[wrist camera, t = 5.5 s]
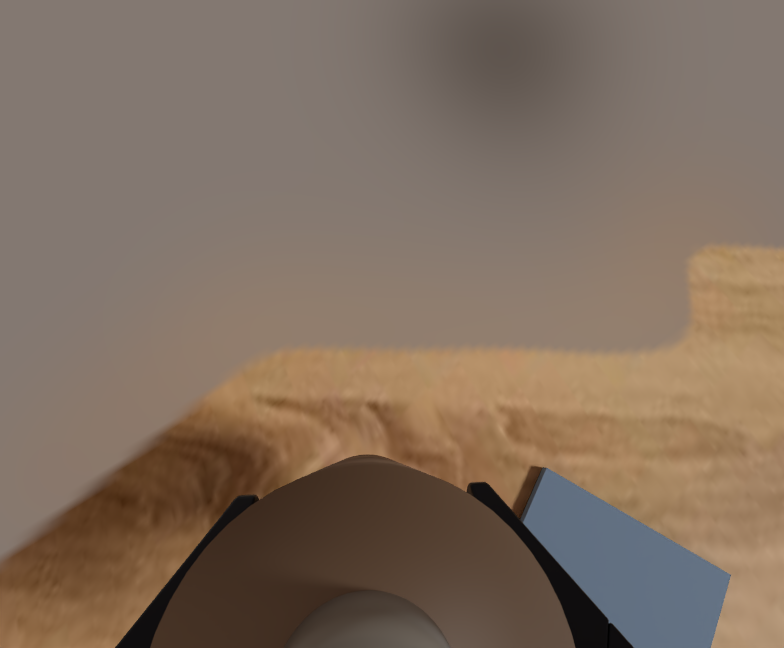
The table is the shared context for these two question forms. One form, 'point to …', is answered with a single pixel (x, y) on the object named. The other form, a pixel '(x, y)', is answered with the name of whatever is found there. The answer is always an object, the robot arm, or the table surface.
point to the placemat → (627, 567)
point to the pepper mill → (365, 571)
